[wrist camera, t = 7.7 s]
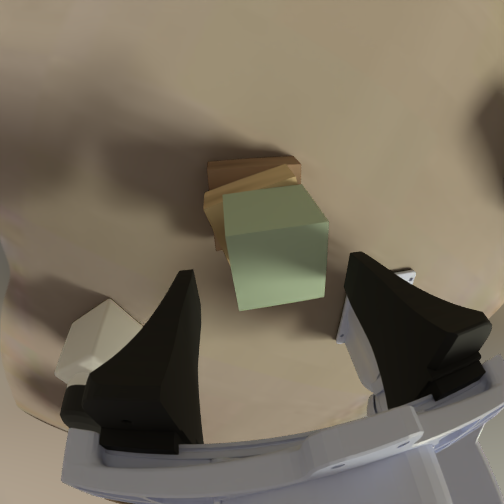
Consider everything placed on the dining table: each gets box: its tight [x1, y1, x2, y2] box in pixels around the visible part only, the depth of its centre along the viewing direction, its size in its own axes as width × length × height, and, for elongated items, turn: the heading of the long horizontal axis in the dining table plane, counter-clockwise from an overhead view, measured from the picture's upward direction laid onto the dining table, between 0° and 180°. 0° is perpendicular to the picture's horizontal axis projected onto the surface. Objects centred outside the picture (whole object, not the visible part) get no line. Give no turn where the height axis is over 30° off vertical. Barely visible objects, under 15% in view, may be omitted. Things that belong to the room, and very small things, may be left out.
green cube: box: [223, 184, 329, 311], centre depth 15 cm, size 4×4×4 cm
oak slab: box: [203, 164, 298, 266], centre depth 19 cm, size 6×6×2 cm
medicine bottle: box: [55, 299, 143, 434], centre depth 22 cm, size 7×7×12 cm
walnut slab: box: [207, 156, 301, 251], centre depth 20 cm, size 6×6×2 cm
